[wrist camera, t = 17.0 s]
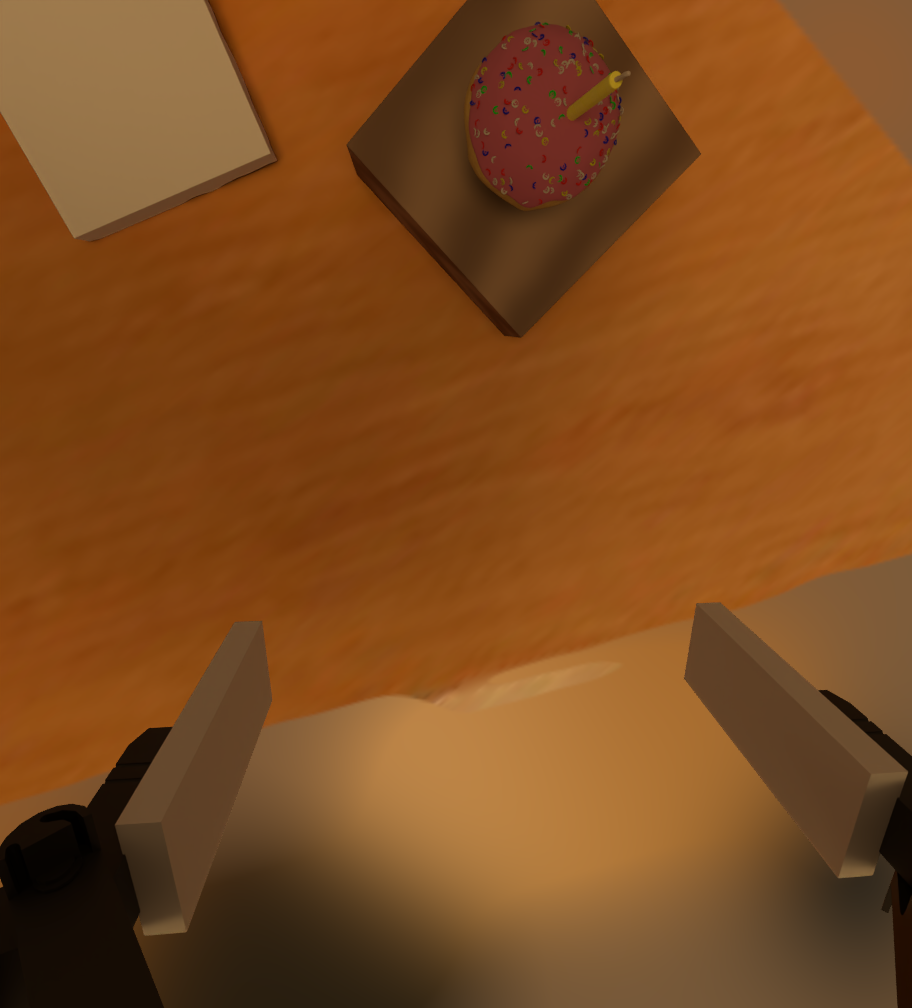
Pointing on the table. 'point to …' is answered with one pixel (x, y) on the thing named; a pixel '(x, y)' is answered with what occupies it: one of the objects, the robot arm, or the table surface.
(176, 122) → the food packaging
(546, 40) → the cupcake
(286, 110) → the table surface
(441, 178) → the riser
